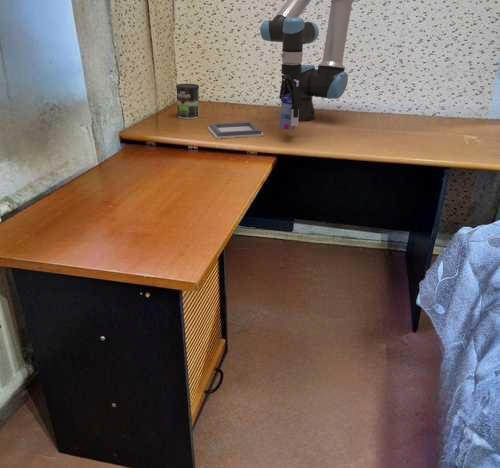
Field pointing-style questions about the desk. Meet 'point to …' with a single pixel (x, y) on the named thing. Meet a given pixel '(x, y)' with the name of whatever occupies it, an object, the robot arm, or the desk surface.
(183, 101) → the coffee can
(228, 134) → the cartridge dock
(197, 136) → the desk surface
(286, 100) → the ink cartridge box
